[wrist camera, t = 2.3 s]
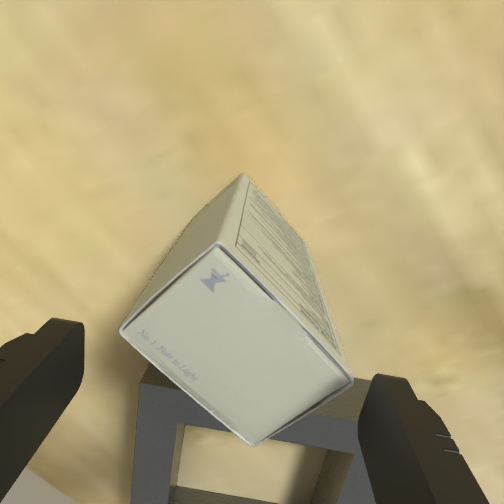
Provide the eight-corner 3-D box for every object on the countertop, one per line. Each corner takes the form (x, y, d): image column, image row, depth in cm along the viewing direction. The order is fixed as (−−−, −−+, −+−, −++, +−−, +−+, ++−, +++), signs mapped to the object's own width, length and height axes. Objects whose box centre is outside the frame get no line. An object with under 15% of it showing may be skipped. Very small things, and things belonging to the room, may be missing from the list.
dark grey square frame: (387, 383, 25) (407, 430, 22) (331, 534, 31) (339, 591, 27) (159, 343, 25) (139, 382, 21) (144, 501, 31) (126, 555, 27)
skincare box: (191, 218, 22) (103, 328, 11) (246, 168, 21) (213, 232, 9) (260, 290, 23) (248, 455, 12) (315, 247, 22) (360, 386, 11)
